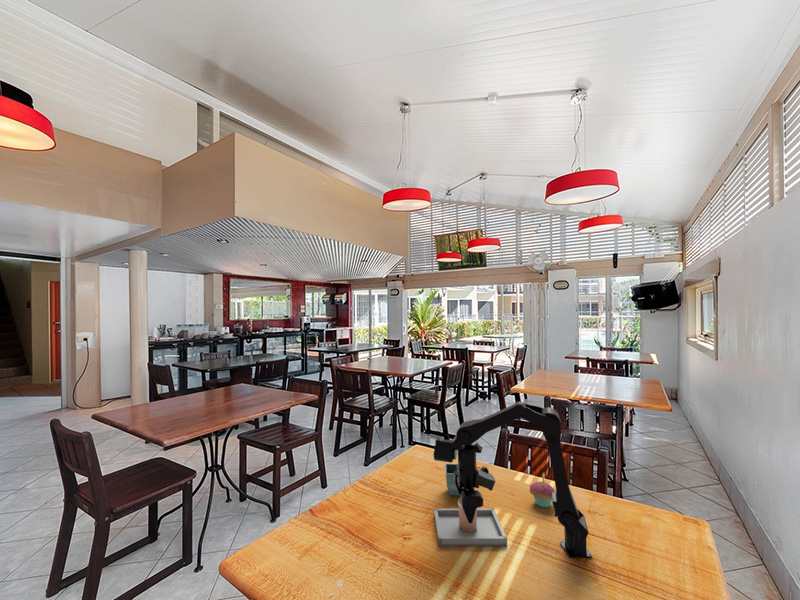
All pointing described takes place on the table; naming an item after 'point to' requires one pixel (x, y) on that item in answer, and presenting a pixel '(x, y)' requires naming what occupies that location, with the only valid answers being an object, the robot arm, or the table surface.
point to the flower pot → (451, 478)
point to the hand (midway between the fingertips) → (467, 514)
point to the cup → (463, 521)
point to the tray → (485, 534)
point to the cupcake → (542, 493)
